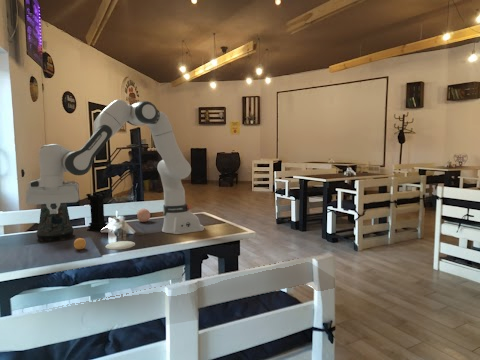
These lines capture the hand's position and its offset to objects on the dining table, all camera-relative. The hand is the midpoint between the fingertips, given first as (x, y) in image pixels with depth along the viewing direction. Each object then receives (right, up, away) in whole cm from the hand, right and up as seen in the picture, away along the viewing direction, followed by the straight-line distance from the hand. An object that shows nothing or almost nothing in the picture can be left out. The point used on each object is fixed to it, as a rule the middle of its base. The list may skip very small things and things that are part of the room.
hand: (54, 213), depth 151 cm
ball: (+9, -14, +4) cm, 17 cm away
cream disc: (+25, -16, +10) cm, 31 cm away
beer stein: (-14, -15, +27) cm, 33 cm away
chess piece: (+2, -13, +42) cm, 44 cm away
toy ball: (+23, -11, +59) cm, 64 cm away
